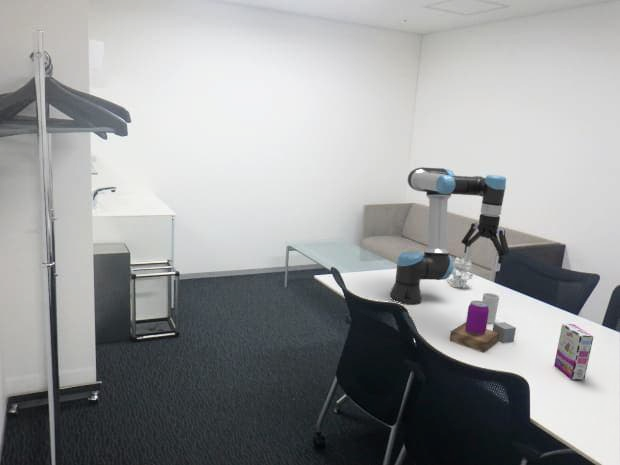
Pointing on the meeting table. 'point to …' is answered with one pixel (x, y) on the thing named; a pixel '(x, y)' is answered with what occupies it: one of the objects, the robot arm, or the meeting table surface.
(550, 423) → the meeting table surface
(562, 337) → the candy bar box
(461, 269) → the silvery white figurine
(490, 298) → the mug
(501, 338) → the grey block
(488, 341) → the walnut block
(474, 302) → the beverage can
